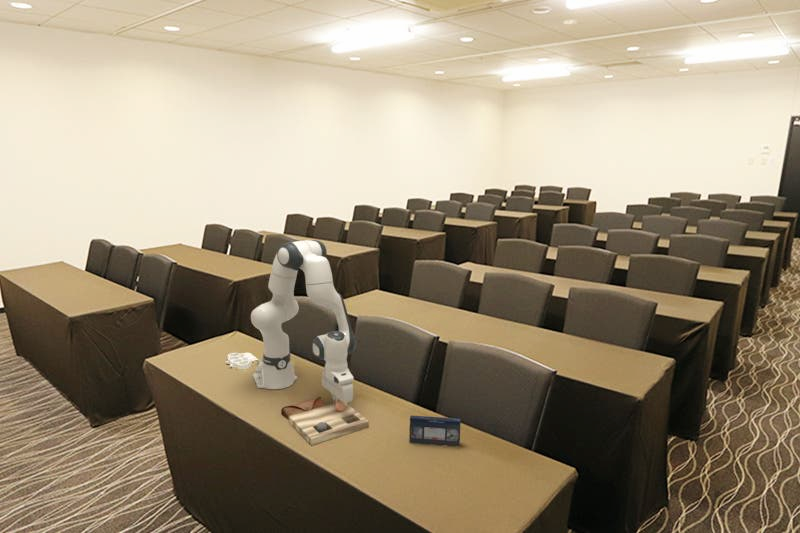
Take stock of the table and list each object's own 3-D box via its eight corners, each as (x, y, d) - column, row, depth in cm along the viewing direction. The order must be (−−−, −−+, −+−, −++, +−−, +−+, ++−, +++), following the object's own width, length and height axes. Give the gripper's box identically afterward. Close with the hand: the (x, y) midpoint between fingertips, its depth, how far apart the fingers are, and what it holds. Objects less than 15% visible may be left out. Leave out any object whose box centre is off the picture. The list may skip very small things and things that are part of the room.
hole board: (288, 422, 201) (288, 416, 200) (343, 406, 214) (343, 400, 214) (311, 445, 185) (311, 439, 184) (368, 426, 198) (368, 420, 198)
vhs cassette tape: (408, 443, 188) (409, 418, 186) (409, 438, 191) (410, 414, 189) (459, 447, 185) (460, 422, 183) (459, 443, 188) (461, 418, 186)
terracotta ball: (332, 403, 206) (336, 401, 203) (341, 400, 208) (345, 398, 205) (335, 413, 205) (339, 410, 202) (344, 410, 207) (348, 408, 204)
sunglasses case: (290, 422, 200) (286, 405, 202) (283, 424, 206) (279, 408, 207) (330, 410, 211) (326, 394, 212) (323, 412, 216) (319, 396, 218)
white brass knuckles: (262, 366, 254) (233, 373, 245) (248, 355, 268) (220, 361, 259) (262, 360, 253) (233, 367, 245) (248, 349, 267) (220, 355, 258)
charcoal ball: (318, 436, 191) (314, 429, 194) (328, 433, 194) (323, 426, 196) (320, 428, 190) (315, 421, 192) (329, 425, 192) (324, 418, 195)
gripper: (317, 365, 212) (318, 396, 215) (341, 382, 195) (341, 416, 198) (331, 361, 215) (331, 392, 218) (356, 379, 199) (356, 412, 202)
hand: (336, 404), depth 208 cm, fingers closed
